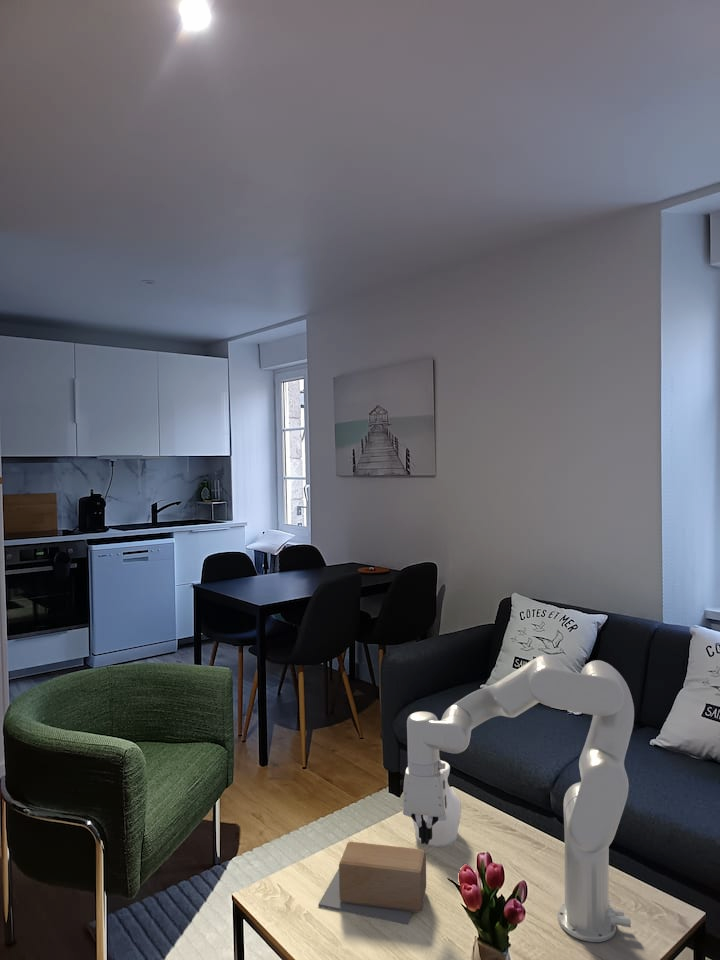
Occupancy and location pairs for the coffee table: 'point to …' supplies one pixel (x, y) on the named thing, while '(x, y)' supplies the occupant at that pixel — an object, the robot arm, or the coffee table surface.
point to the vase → (447, 829)
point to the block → (383, 876)
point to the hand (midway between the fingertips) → (425, 841)
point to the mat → (360, 906)
